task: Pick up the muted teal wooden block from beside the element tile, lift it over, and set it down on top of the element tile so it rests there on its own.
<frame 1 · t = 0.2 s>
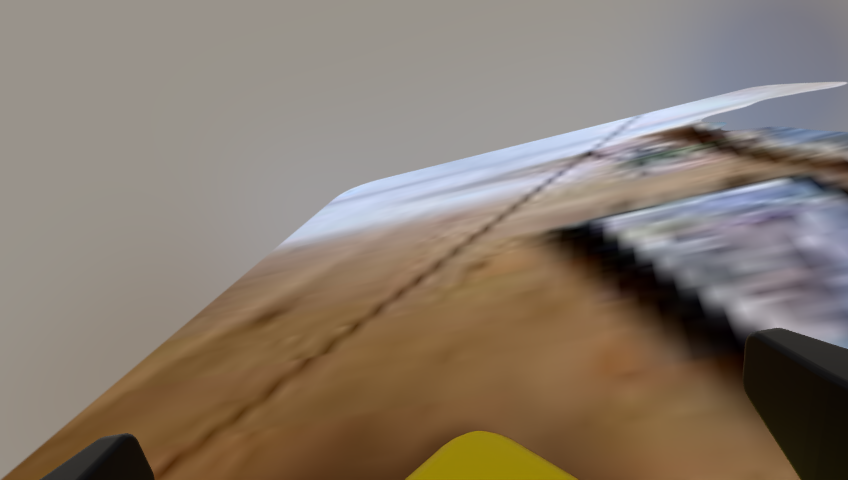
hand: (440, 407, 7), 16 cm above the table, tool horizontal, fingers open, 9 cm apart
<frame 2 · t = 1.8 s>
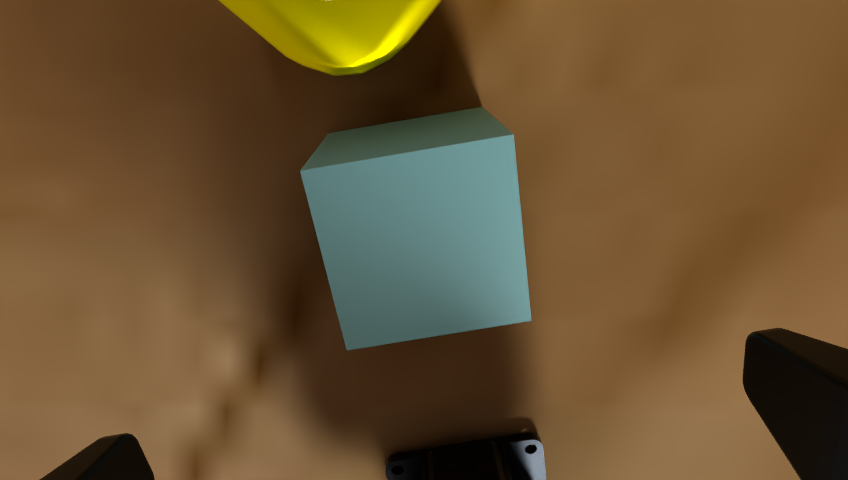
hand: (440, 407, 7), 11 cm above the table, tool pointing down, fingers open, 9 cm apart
block: (417, 193, 17), on the table
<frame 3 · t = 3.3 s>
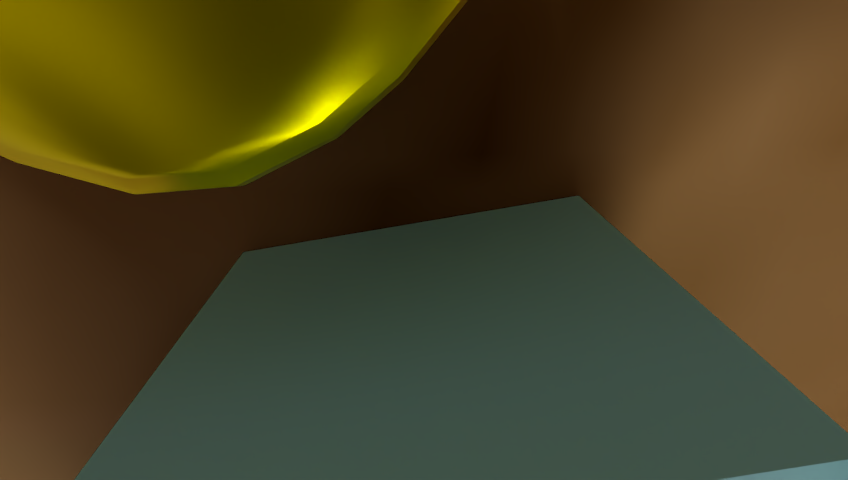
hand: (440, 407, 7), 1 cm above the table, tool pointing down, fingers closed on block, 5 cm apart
block: (435, 364, 8), on the table, touching gripper
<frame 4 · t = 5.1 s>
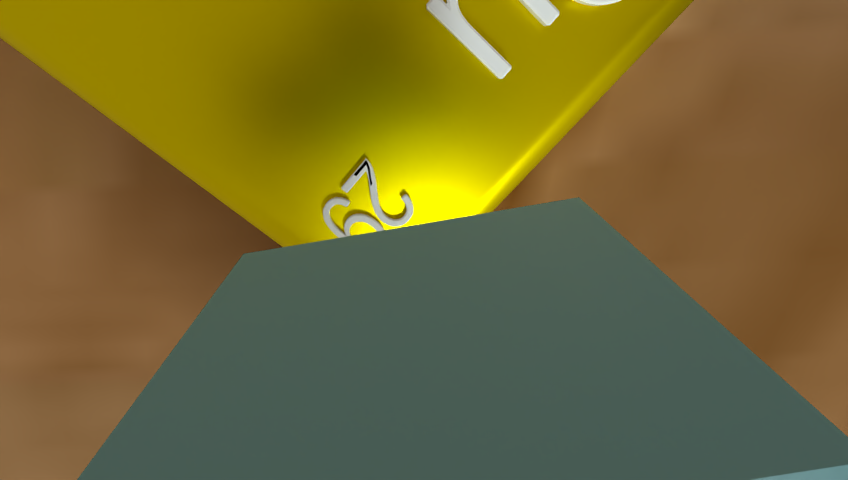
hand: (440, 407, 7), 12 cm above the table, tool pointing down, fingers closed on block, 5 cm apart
block: (436, 366, 8), point 10 cm above the table, touching gripper
when the fingers open (7 cm above the table, at t = 7.1 s): block drops 2 cm, resting on element tile.
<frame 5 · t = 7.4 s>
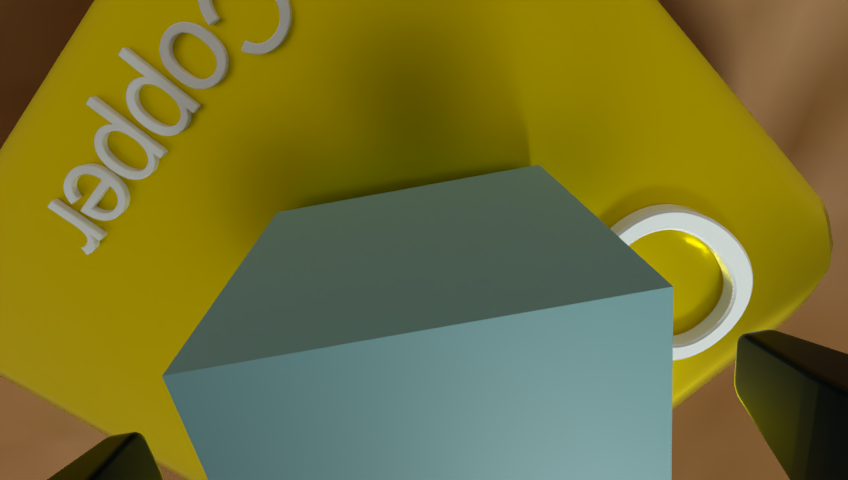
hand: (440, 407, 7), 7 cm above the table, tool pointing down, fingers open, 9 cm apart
block: (429, 304, 10), point 4 cm above the table, touching element tile
element tile: (394, 220, 15), on the table, touching block
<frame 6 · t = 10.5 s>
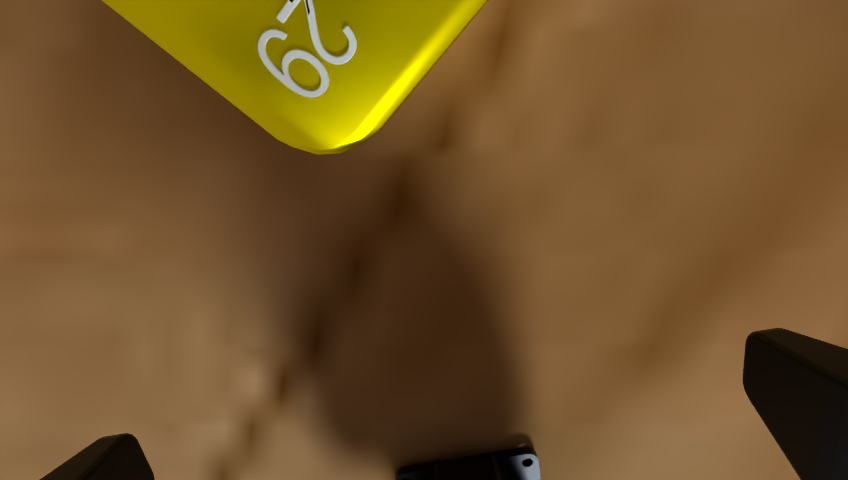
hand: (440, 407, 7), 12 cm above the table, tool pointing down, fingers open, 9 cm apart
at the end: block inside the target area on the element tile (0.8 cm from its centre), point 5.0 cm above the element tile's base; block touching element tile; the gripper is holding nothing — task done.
